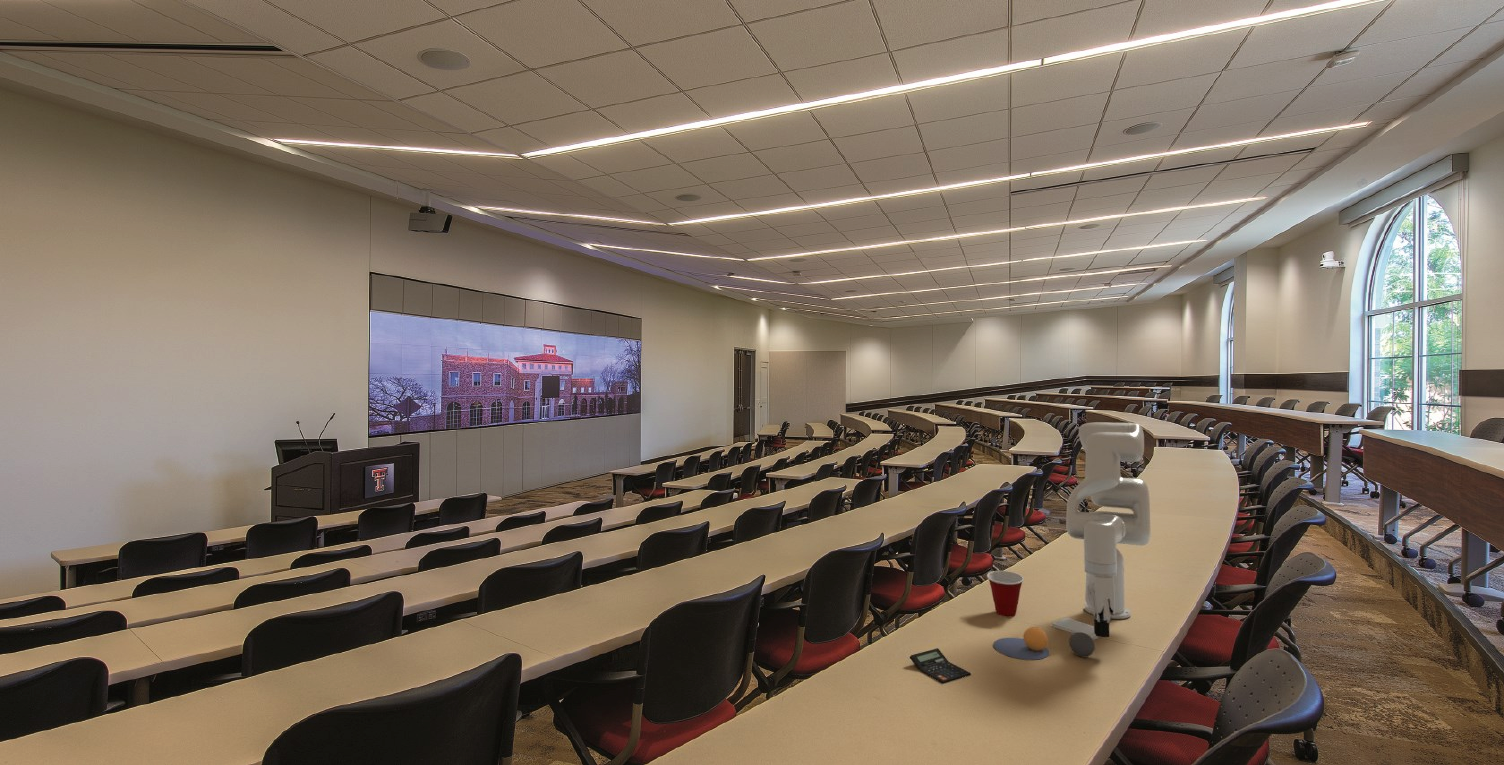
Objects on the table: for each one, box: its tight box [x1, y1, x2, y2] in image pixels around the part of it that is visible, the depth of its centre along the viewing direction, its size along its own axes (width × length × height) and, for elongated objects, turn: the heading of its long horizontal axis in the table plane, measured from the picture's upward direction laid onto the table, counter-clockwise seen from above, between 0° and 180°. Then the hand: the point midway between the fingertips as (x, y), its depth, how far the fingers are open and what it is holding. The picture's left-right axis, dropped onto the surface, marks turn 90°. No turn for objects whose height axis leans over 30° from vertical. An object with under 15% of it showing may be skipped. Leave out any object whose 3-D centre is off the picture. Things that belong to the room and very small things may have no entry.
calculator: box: [909, 647, 972, 684], centre depth 157 cm, size 9×12×3 cm
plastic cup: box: [986, 570, 1025, 617], centre depth 195 cm, size 11×11×12 cm
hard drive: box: [1051, 617, 1100, 641], centre depth 182 cm, size 2×8×12 cm
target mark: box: [993, 637, 1050, 661], centre depth 169 cm, size 14×14×1 cm
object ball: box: [1023, 626, 1049, 651], centre depth 168 cm, size 6×6×6 cm
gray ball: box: [1068, 632, 1096, 658], centre depth 164 cm, size 6×6×6 cm
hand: (1101, 635), depth 165 cm, fingers closed
